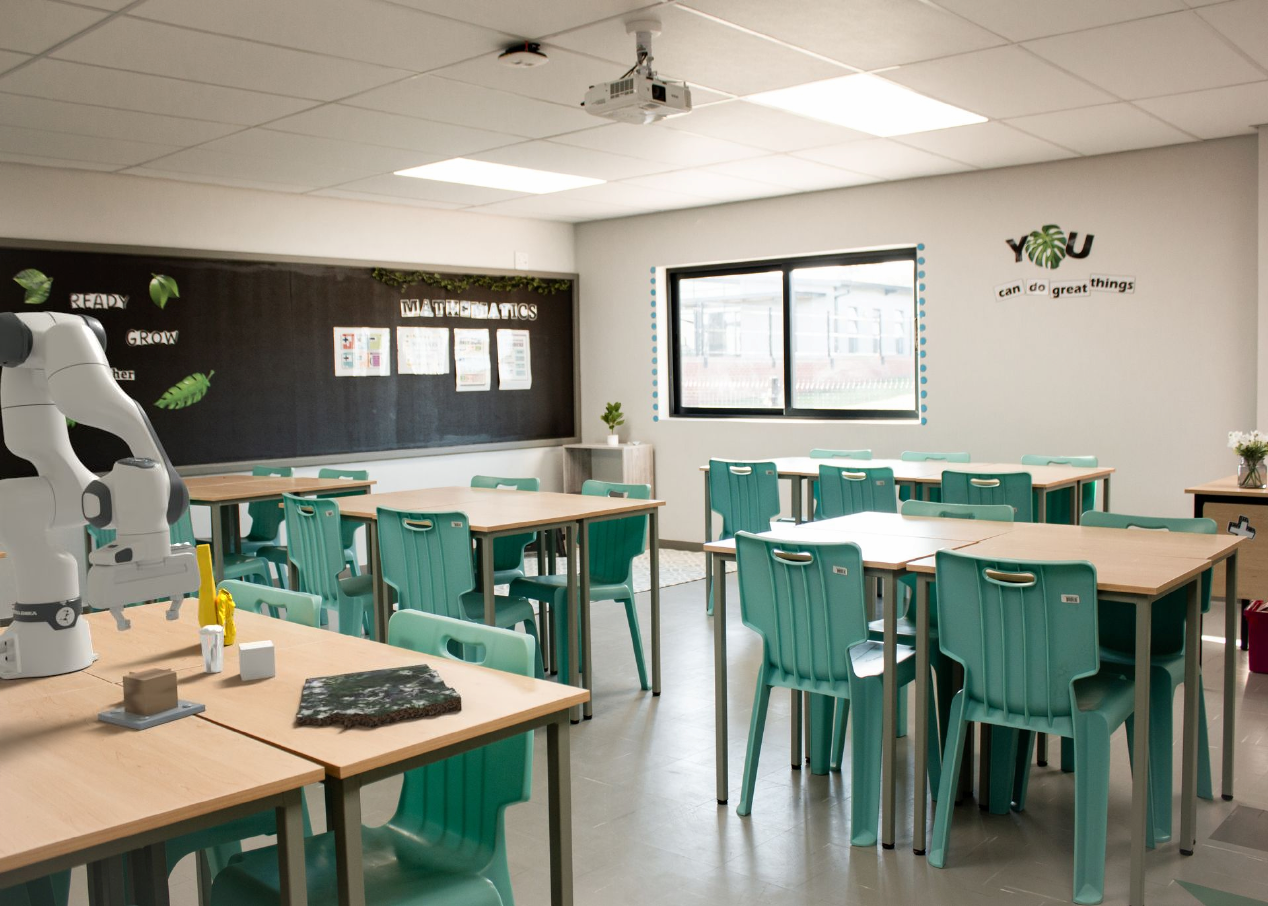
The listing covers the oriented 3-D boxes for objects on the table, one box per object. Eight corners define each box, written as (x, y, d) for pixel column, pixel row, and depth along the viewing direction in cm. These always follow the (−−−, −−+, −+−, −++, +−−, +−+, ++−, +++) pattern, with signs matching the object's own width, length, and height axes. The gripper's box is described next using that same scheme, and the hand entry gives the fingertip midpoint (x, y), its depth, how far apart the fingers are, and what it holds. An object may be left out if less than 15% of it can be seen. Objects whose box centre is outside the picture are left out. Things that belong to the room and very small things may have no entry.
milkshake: (221, 674, 207) (218, 623, 207) (196, 674, 208) (193, 623, 208) (234, 668, 212) (232, 618, 211) (210, 668, 213) (207, 618, 212)
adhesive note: (239, 674, 208) (238, 643, 207) (272, 670, 210) (270, 639, 210) (242, 681, 202) (240, 649, 202) (275, 676, 205) (274, 645, 204)
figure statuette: (235, 650, 227) (229, 548, 226) (195, 654, 225) (190, 550, 224) (240, 633, 244) (235, 538, 243) (203, 636, 242) (198, 540, 241)
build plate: (98, 719, 179) (97, 712, 179) (163, 701, 189) (162, 694, 189) (140, 729, 173) (140, 722, 173) (205, 710, 183) (205, 703, 183)
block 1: (130, 698, 192) (128, 671, 192) (155, 691, 196) (154, 665, 196) (146, 702, 189) (145, 674, 189) (172, 695, 194) (170, 668, 193)
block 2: (124, 711, 180) (122, 676, 180) (157, 702, 185) (155, 668, 185) (145, 716, 177) (143, 680, 177) (178, 706, 182) (176, 672, 182)
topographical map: (426, 672, 207) (425, 656, 206) (465, 717, 176) (464, 699, 176) (286, 689, 197) (285, 673, 197) (301, 740, 167) (300, 721, 166)
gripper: (184, 540, 202) (189, 613, 202) (79, 555, 185) (84, 634, 185) (205, 541, 198) (210, 615, 199) (100, 556, 181) (105, 637, 182)
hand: (148, 624), depth 192 cm, fingers open, 8 cm apart
